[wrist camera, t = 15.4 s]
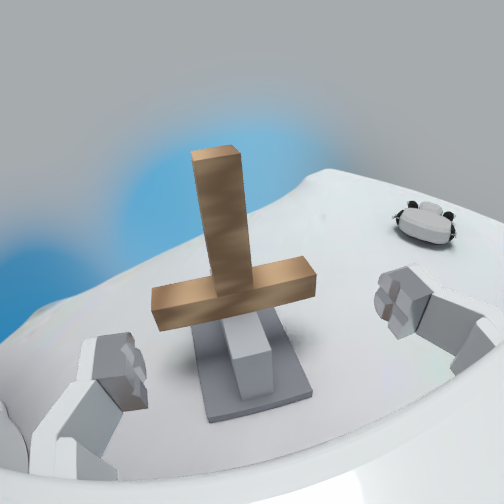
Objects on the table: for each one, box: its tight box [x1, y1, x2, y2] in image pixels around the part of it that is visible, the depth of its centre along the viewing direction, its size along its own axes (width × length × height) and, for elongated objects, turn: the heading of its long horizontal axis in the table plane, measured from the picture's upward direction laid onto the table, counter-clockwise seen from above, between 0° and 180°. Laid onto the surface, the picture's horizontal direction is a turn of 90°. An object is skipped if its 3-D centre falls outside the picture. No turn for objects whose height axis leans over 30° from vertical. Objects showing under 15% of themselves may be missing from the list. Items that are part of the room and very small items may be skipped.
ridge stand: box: [191, 270, 313, 423], centre depth 29 cm, size 10×14×8 cm
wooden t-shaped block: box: [151, 145, 317, 332], centre depth 23 cm, size 14×3×14 cm, turn 104°
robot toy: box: [392, 201, 457, 244], centre depth 49 cm, size 12×4×15 cm
